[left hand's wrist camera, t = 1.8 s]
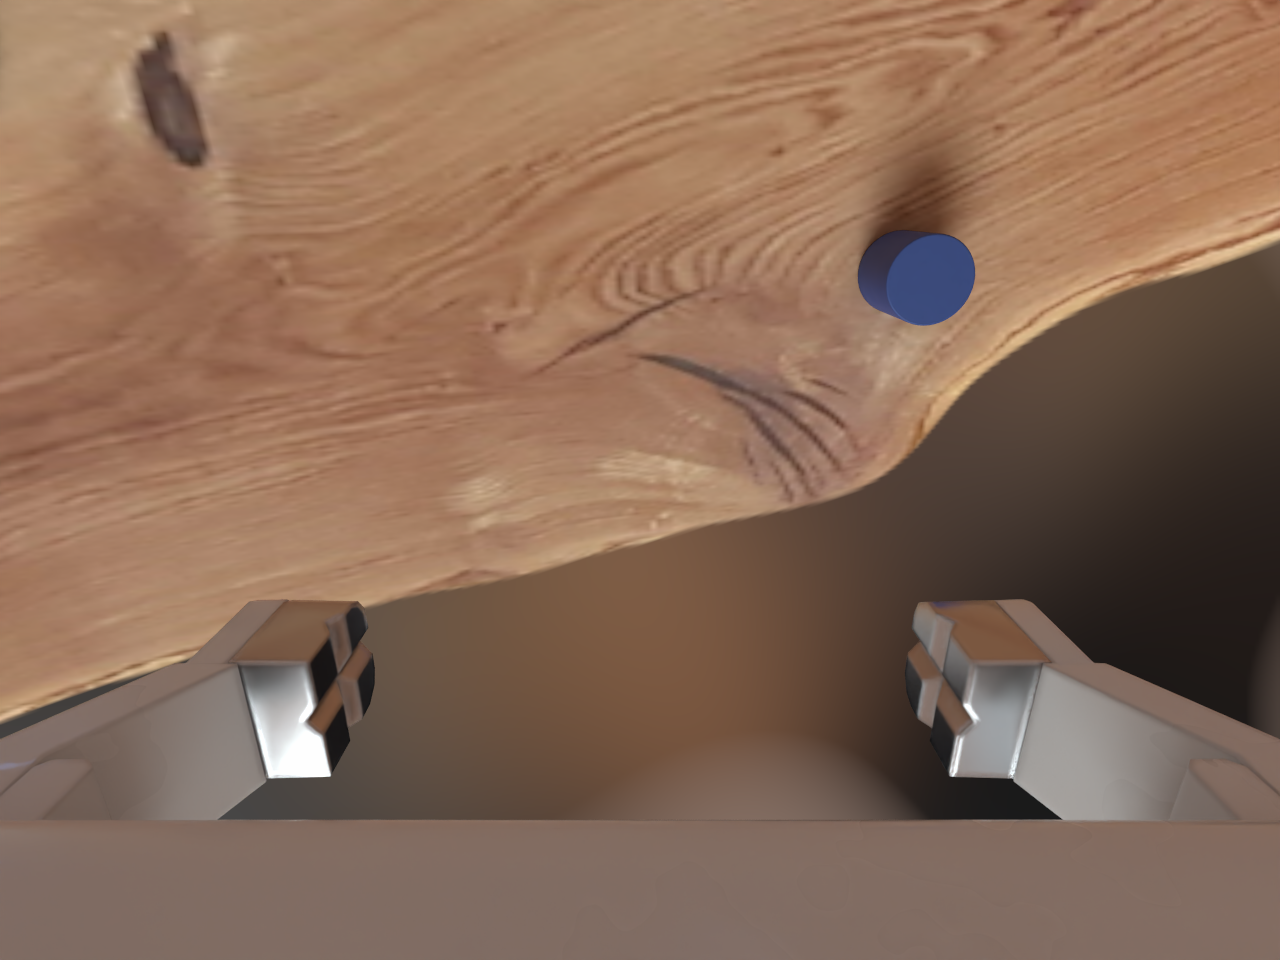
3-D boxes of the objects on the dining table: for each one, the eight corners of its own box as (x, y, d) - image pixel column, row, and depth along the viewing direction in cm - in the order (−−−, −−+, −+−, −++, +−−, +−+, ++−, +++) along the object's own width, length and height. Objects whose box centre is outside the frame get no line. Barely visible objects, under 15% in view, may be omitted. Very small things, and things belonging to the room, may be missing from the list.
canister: (841, 286, 38) (868, 297, 34) (890, 214, 37) (924, 215, 33) (903, 326, 39) (937, 341, 35) (952, 257, 38) (994, 263, 34)
